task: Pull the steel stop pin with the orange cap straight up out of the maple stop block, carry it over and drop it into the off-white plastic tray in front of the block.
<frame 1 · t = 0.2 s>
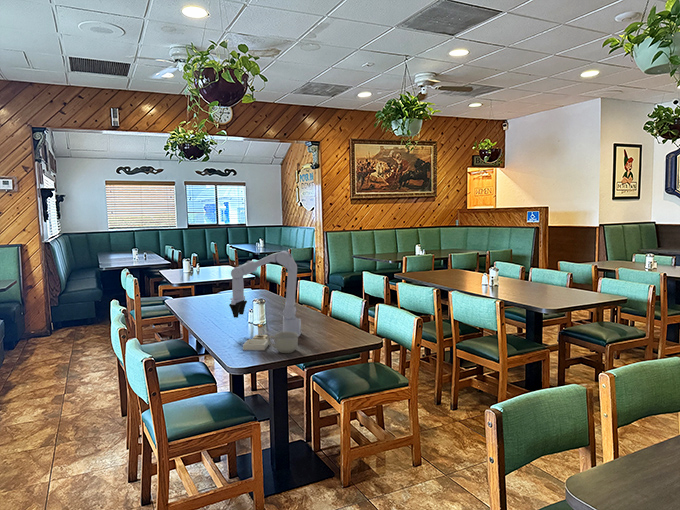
hand: (238, 315, 244), 10 cm above the table, tool pointing down, fingers open, 7 cm apart
tray: (256, 347, 221), on the table
stop block: (260, 342, 230), on the table
teacup: (283, 351, 214), on the table
stop pin: (260, 333, 229), in the stop block
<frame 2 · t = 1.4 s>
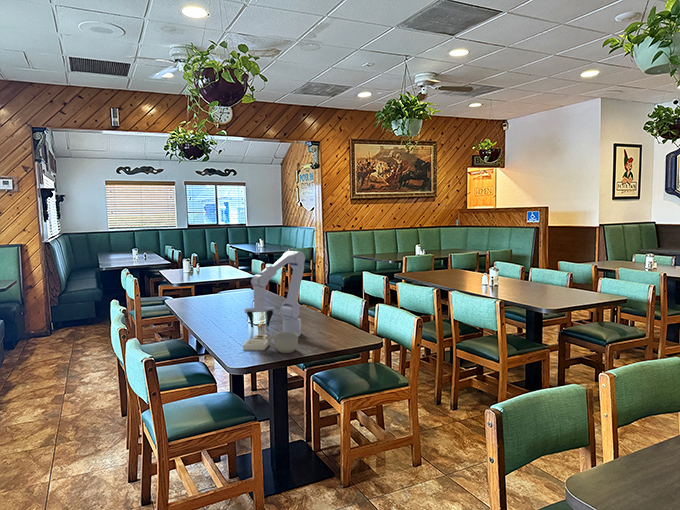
hand: (260, 326, 229), 8 cm above the table, tool pointing down, fingers open, 7 cm apart
nothing on the table moved.
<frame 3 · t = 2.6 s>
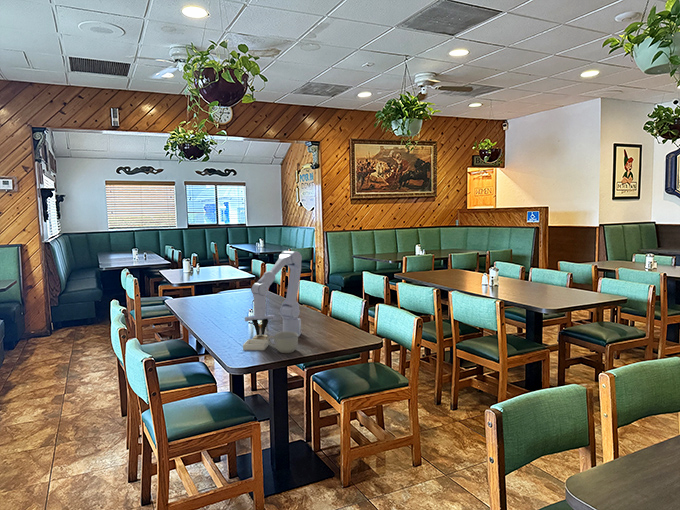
hand: (260, 334, 229), 4 cm above the table, tool pointing down, fingers closed on stop pin, 2 cm apart
stop pin: (260, 333, 229), in the stop block, touching gripper
everything else where it was.
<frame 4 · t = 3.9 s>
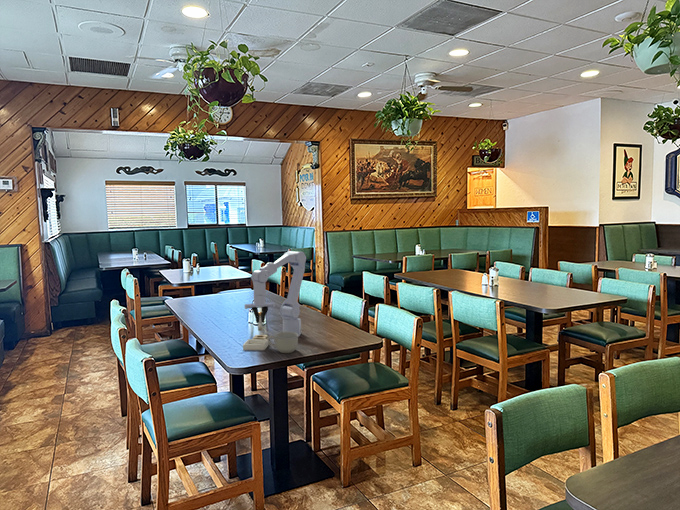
hand: (260, 322, 229), 10 cm above the table, tool pointing down, fingers closed on stop pin, 2 cm apart
stop pin: (260, 321, 229), point 10 cm above the table, touching gripper
everything else where it was.
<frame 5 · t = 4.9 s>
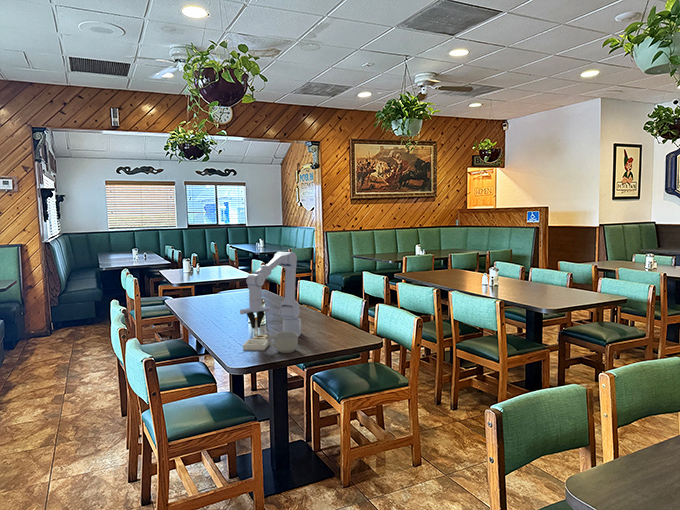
hand: (255, 327, 220), 9 cm above the table, tool pointing down, fingers closed on stop pin, 2 cm apart
stop pin: (255, 326, 221), point 10 cm above the table, touching gripper
everything else where it was.
when the fingers open (6 cm above the table, at t = 5.6 s): stop pin drops 2 cm, resting on tray.
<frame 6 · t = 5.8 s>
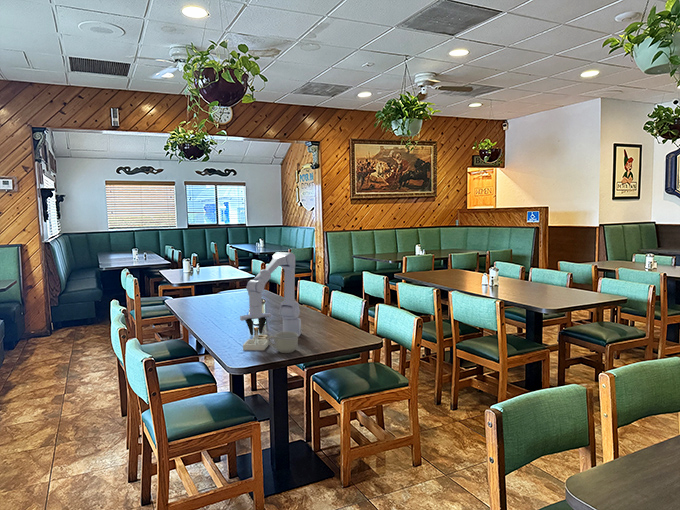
hand: (256, 333, 221), 6 cm above the table, tool pointing down, fingers open, 4 cm apart
stop pin: (256, 336, 221), in the tray
everything else where it was.
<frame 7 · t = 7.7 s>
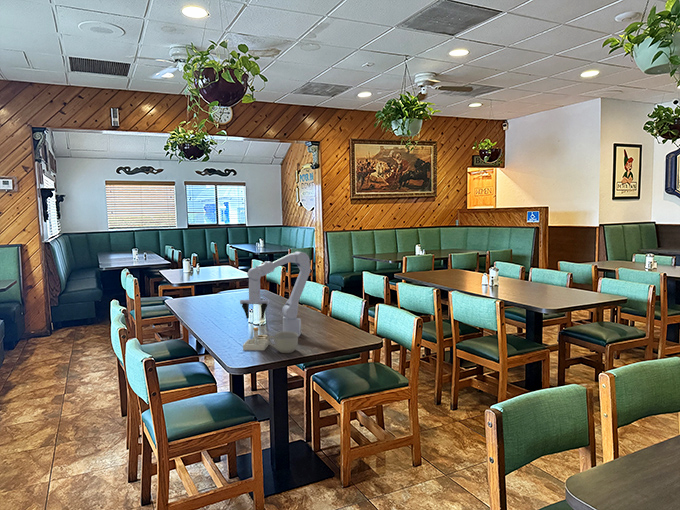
hand: (255, 318, 237), 10 cm above the table, tool pointing down, fingers open, 7 cm apart
nothing on the table moved.
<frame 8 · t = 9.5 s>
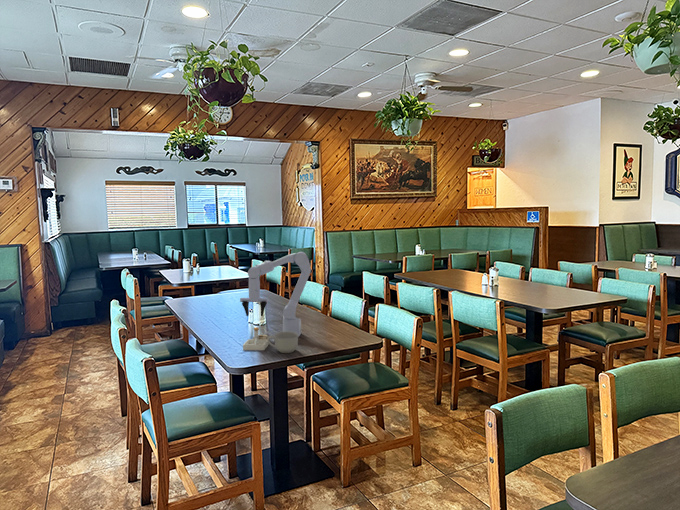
hand: (254, 315, 243), 10 cm above the table, tool pointing down, fingers open, 7 cm apart
nothing on the table moved.
at the end: stop pin inside the target area on the tray (0.3 cm from its centre), point 4.8 cm above the tray's base; the gripper is holding nothing; stop pin moved 8.2 cm from its start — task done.
